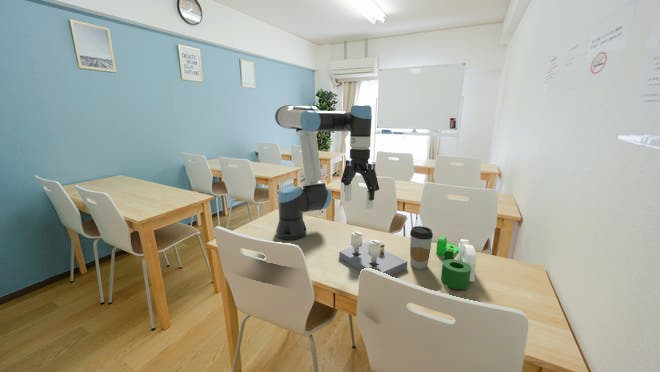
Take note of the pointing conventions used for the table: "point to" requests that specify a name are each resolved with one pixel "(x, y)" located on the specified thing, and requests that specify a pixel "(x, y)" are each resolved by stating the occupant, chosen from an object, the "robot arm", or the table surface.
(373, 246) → the knob
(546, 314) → the table surface
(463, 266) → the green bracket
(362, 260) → the plate
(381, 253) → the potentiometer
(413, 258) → the coffee cup
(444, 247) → the mechanical part
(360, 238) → the knob
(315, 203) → the robot arm
